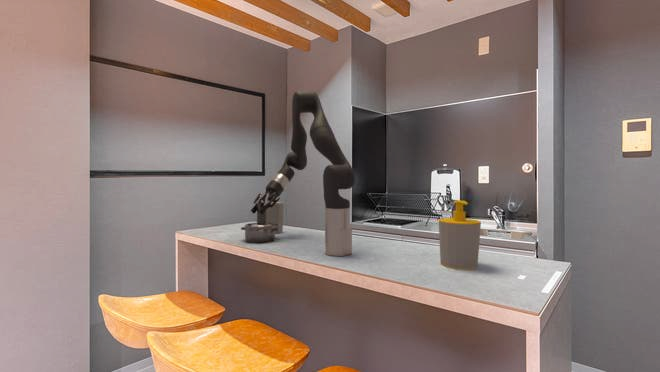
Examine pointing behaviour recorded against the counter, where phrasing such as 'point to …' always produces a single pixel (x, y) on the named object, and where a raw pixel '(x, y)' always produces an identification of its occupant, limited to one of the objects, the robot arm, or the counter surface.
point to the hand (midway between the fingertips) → (256, 212)
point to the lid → (261, 216)
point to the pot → (259, 233)
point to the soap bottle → (459, 240)
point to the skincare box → (276, 216)
